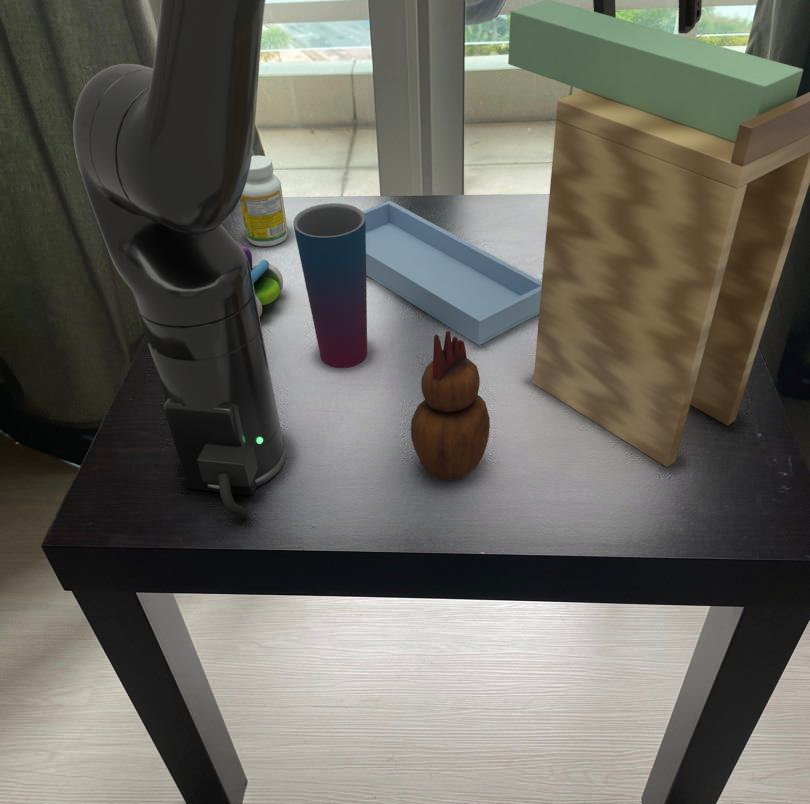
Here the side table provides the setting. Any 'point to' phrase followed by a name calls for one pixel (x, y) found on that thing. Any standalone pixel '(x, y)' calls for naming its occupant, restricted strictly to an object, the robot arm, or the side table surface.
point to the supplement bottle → (263, 204)
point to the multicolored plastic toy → (264, 280)
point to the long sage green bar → (649, 67)
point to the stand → (663, 262)
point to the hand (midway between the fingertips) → (646, 29)
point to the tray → (447, 274)
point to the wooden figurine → (450, 414)
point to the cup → (335, 279)
